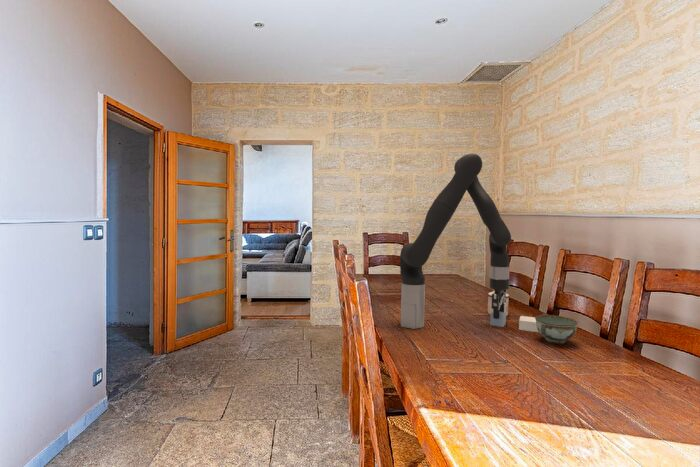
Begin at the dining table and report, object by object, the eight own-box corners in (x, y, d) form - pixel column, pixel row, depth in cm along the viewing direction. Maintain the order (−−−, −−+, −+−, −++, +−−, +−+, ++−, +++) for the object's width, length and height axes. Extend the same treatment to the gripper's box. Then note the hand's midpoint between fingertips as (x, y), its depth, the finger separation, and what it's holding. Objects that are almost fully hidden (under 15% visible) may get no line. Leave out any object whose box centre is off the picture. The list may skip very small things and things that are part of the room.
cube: (502, 327, 154) (503, 315, 154) (490, 325, 157) (490, 313, 157) (505, 324, 159) (506, 312, 158) (493, 322, 161) (493, 310, 161)
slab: (541, 333, 147) (541, 323, 147) (518, 330, 151) (519, 320, 151) (542, 328, 155) (542, 318, 154) (520, 325, 158) (520, 315, 158)
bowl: (583, 349, 129) (584, 326, 129) (540, 346, 132) (541, 323, 132) (569, 336, 143) (569, 315, 142) (530, 334, 145) (530, 313, 145)
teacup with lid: (511, 316, 170) (512, 290, 170) (491, 316, 171) (491, 290, 170) (502, 310, 182) (502, 285, 182) (482, 309, 183) (483, 285, 182)
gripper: (494, 274, 165) (493, 311, 166) (485, 278, 153) (484, 318, 154) (512, 275, 161) (512, 313, 162) (505, 280, 149) (504, 321, 150)
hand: (498, 316), depth 158 cm, fingers open, 8 cm apart
